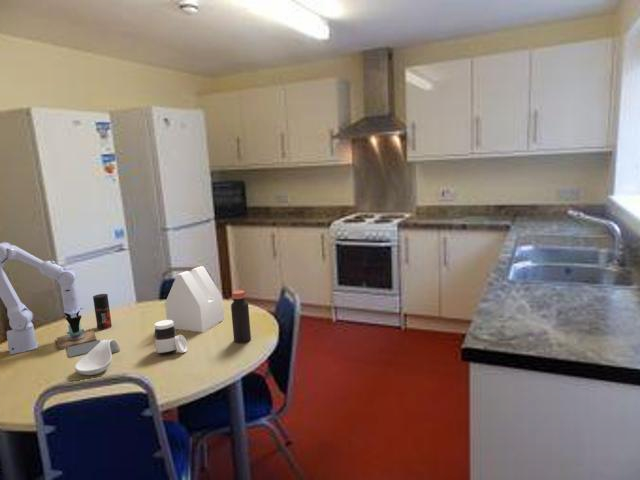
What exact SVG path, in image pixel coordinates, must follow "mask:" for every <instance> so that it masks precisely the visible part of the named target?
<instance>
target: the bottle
mask: <svg viewBox="0 0 640 480" xmlns="http://www.w3.org/2000/svg"><path fill="white" fill-rule="evenodd" d="M231 295H232V300H233V302H232V303H231V304H230V311H231V320H232V321H231V322H232V333H233V335H232V336H233V341H234V342H235V343H236V344H244V343H248V342H250V341H251V339H252V335H251V322H250V312H249V303H248V301H246V300H245V299H246V291H245V290H240V289H239V290H234V291H232V294H231Z"/></svg>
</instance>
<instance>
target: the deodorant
mask: <svg viewBox="0 0 640 480" xmlns="http://www.w3.org/2000/svg"><path fill="white" fill-rule="evenodd" d="M108 297H109V296H108V294H107V293H100V294H96V295H93V296H92V299H93V307H94V313H95V321H96V328H97V330H99V331H104V330H108V329H110V328H112V326H113V325H112V319H111V318H112V317H111V311H110V310H111V309H110V303H109V298H108Z"/></svg>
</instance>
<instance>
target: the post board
mask: <svg viewBox="0 0 640 480" xmlns="http://www.w3.org/2000/svg"><path fill="white" fill-rule="evenodd" d="M97 340H98V339H97V337H96V334H95V332H94V329H91V330H85V331H82V333H81V334H79V335H76V336H70V335H69V334H66V335H63V336H58V337H56V342H57V343H56V344H57V349H58V351H60V350H65V349H66V350H67V347H70V346H75V345H79V344H84V343H88V342H92V341H97Z"/></svg>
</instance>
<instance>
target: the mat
mask: <svg viewBox="0 0 640 480" xmlns="http://www.w3.org/2000/svg"><path fill="white" fill-rule="evenodd" d="M99 342H101V341H100V339H97V341H92V342H88V343H84V344H79V345H75V346H70V347H67V348H66V351H67V356H68V358H69V359H70V358H75V357H78V356H79V357H80V356H83V355H84V356H85V355H86V354H87V353H89V352H90V351H91V350H92V349H93V348H94V347H95V346H96V345H97V344H98V343H99Z"/></svg>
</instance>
